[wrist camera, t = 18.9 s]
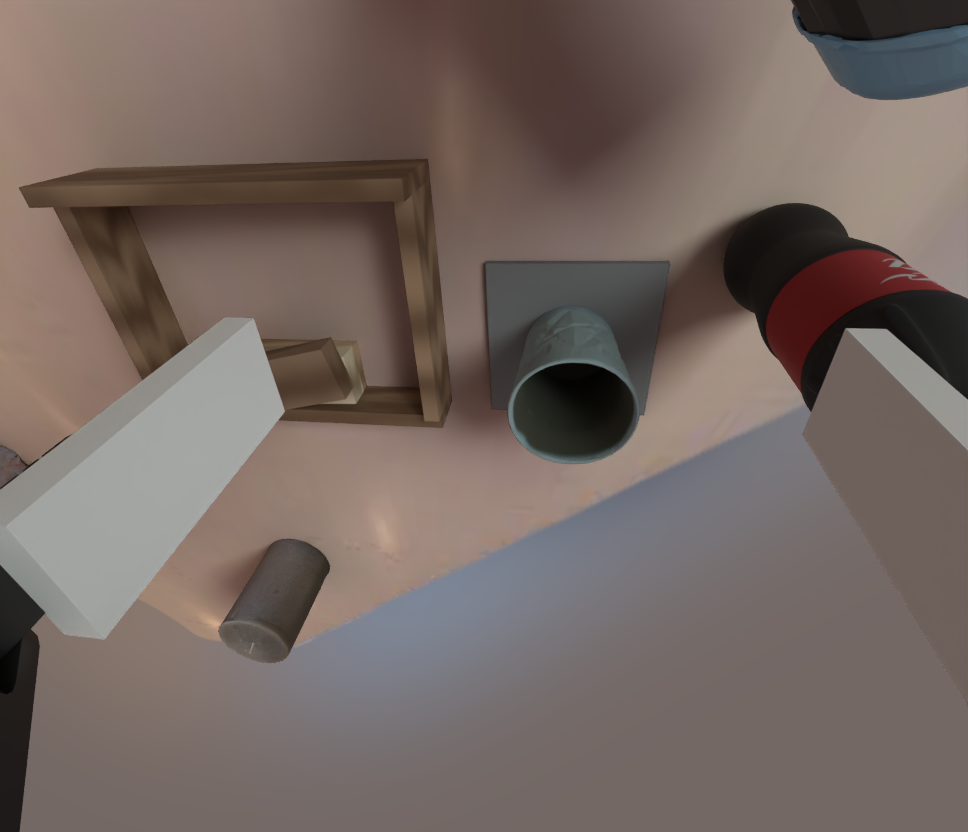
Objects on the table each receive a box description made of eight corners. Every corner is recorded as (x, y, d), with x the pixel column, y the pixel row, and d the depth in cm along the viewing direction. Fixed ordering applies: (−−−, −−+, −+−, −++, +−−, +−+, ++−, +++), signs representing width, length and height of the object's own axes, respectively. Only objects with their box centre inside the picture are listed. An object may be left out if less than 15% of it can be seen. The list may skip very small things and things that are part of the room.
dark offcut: (227, 359, 51) (213, 371, 49) (331, 337, 48) (320, 349, 46) (255, 403, 54) (243, 417, 52) (354, 385, 51) (345, 399, 49)
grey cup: (498, 345, 50) (481, 415, 40) (573, 272, 45) (574, 332, 35) (570, 406, 53) (571, 484, 43) (648, 344, 48) (668, 417, 38)
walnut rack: (96, 168, 46) (18, 187, 39) (427, 159, 41) (401, 178, 35) (196, 390, 60) (151, 431, 53) (451, 400, 55) (436, 446, 49)
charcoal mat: (486, 261, 46) (485, 263, 45) (668, 261, 43) (670, 263, 43) (492, 406, 55) (491, 409, 54) (643, 412, 53) (644, 415, 52)
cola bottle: (795, 305, 44) (1064, 608, 20) (700, 287, 44) (854, 565, 20) (851, 206, 39) (1299, 450, 15) (743, 186, 39) (1016, 395, 15)
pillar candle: (342, 568, 76) (299, 663, 64) (303, 586, 81) (256, 679, 69) (294, 529, 73) (238, 622, 61) (255, 551, 77) (196, 642, 65)
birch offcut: (244, 346, 53) (231, 357, 51) (352, 345, 51) (343, 357, 49) (261, 390, 56) (250, 403, 54) (363, 391, 54) (356, 404, 52)
